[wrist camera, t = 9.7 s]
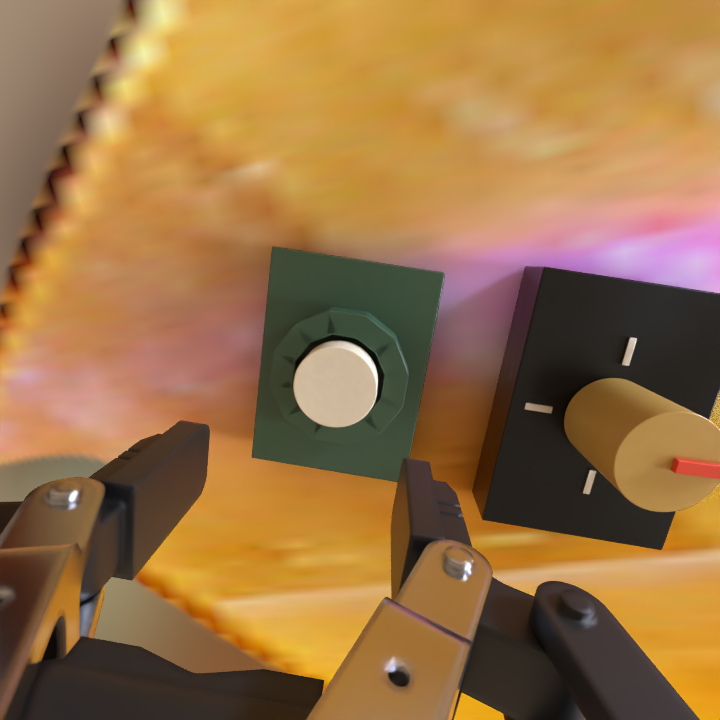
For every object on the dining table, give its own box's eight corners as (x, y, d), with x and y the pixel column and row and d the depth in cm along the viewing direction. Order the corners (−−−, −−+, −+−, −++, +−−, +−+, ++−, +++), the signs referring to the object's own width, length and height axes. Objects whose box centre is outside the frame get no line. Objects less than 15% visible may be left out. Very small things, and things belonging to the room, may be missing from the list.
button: (305, 334, 21) (298, 340, 20) (384, 346, 21) (383, 353, 19) (296, 408, 22) (288, 420, 20) (371, 420, 22) (370, 434, 20)
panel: (524, 266, 23) (545, 266, 20) (708, 294, 23) (757, 298, 20) (471, 492, 27) (482, 522, 23) (631, 519, 26) (664, 553, 23)
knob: (555, 452, 22) (605, 509, 17) (574, 372, 21) (633, 407, 16) (639, 463, 22) (715, 523, 17) (662, 383, 21) (750, 422, 16)
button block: (282, 247, 24) (261, 244, 20) (440, 271, 24) (450, 273, 20) (262, 442, 27) (240, 472, 23) (403, 465, 26) (406, 500, 23)
